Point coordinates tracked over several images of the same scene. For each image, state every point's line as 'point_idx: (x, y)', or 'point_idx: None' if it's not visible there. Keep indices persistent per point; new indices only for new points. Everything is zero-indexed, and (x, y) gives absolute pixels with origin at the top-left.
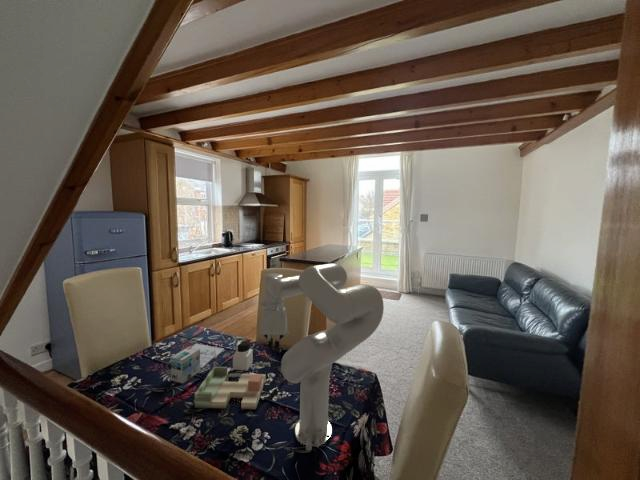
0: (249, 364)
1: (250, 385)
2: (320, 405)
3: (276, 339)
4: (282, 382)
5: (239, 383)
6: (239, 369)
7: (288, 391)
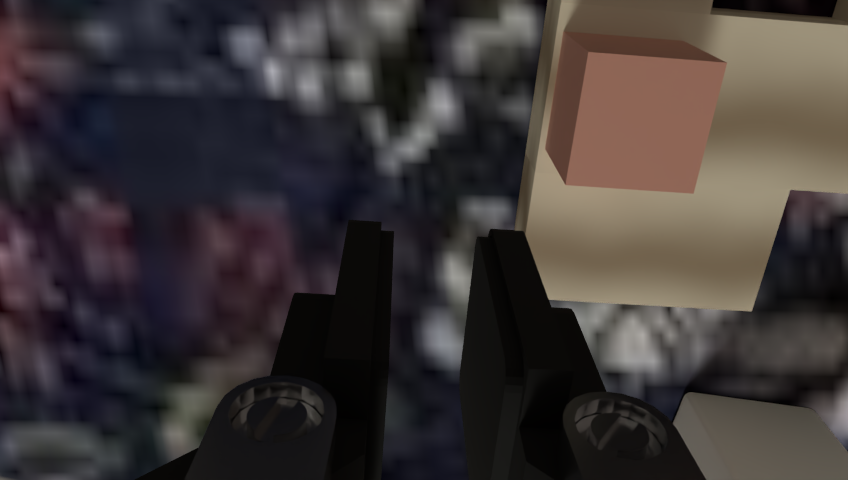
0: None
1: (679, 50)
2: None
3: (330, 430)
4: (342, 229)
5: (775, 163)
6: (758, 403)
7: (266, 96)
